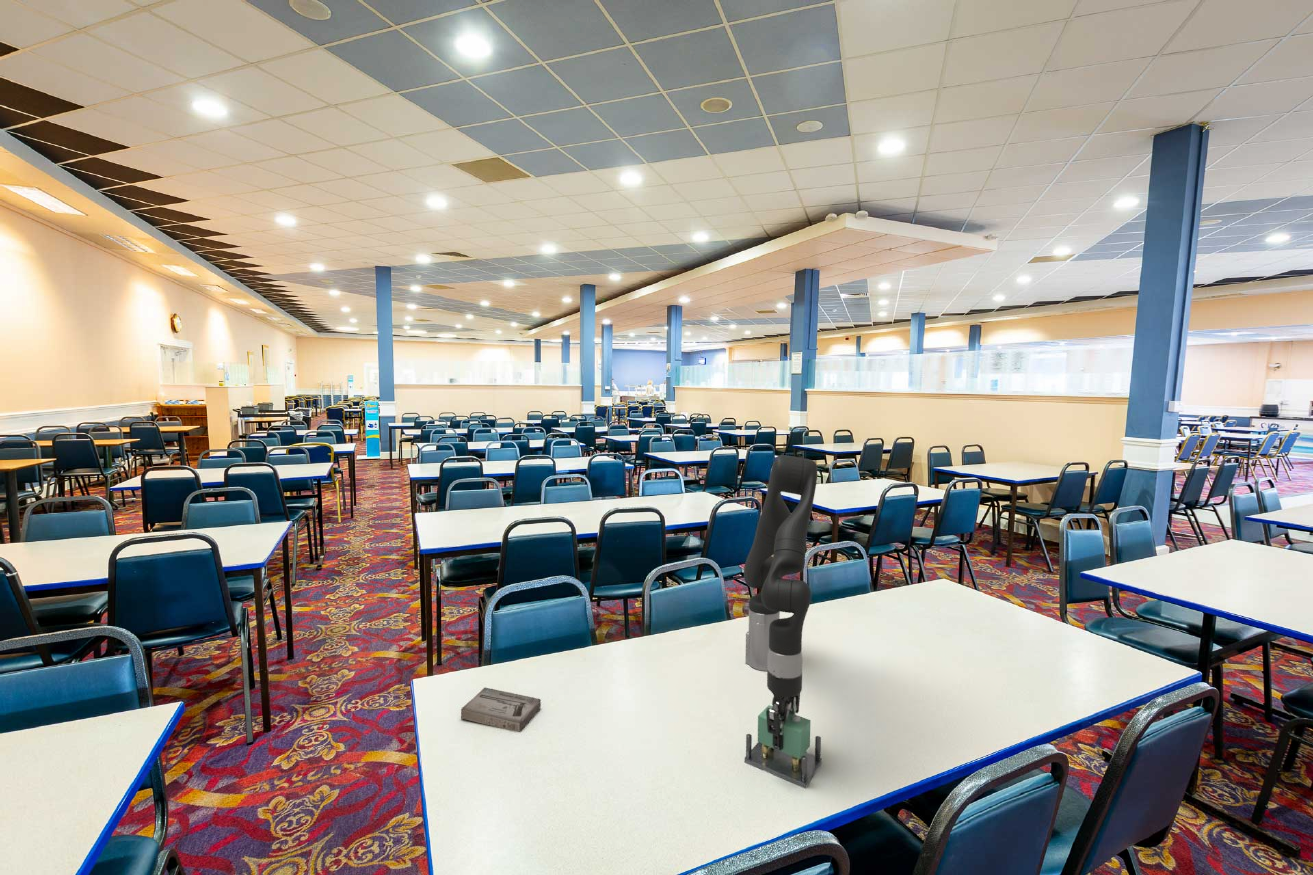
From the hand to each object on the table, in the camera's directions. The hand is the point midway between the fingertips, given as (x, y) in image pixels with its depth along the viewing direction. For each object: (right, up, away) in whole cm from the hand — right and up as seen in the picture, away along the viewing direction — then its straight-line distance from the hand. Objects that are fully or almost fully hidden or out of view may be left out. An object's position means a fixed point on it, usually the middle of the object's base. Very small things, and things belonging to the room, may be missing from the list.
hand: (783, 741), depth 122 cm
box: (-68, -4, +19) cm, 71 cm away
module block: (0, -1, 0) cm, 1 cm away
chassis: (0, -5, 0) cm, 5 cm away
